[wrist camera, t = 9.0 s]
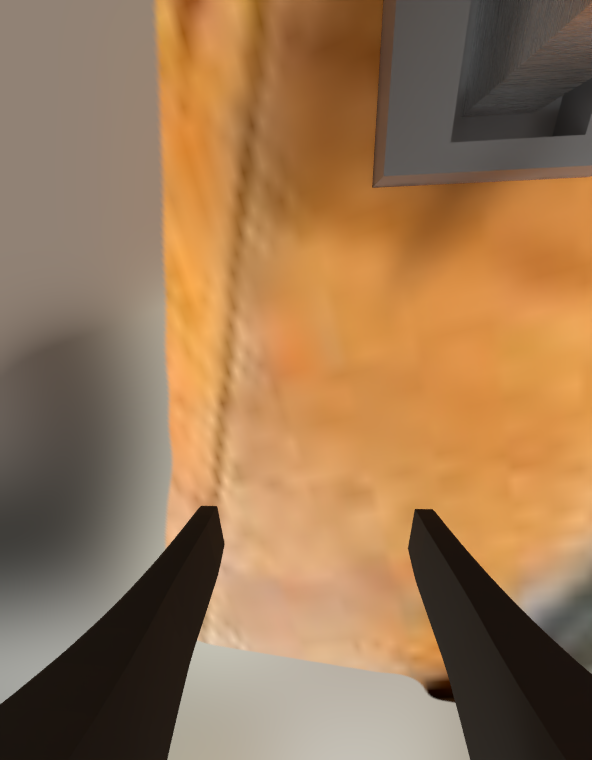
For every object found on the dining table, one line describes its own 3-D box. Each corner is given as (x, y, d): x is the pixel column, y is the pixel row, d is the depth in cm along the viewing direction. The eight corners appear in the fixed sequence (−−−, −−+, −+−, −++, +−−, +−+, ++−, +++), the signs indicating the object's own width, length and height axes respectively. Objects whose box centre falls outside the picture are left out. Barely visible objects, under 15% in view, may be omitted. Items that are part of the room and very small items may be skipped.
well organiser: (700, -185, 10) (819, -317, 7) (589, 176, 14) (643, 162, 12) (392, -149, 10) (415, -261, 8) (372, 187, 14) (383, 176, 12)
